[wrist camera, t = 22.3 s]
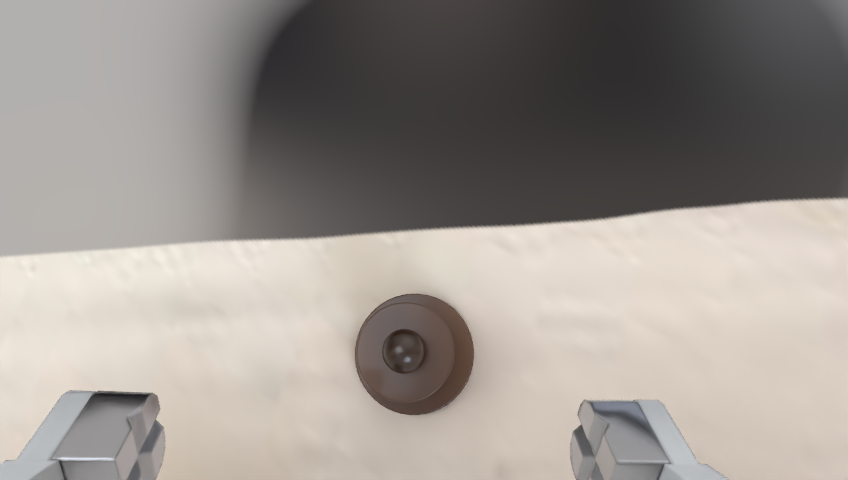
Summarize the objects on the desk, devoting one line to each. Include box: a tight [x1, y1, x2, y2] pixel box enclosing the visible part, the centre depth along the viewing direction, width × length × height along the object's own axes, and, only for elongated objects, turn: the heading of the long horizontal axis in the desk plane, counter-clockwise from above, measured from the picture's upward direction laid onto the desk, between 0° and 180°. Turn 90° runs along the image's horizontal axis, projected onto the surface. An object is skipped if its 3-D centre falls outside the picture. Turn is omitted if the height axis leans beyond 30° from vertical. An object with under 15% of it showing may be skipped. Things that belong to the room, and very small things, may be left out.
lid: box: [355, 294, 474, 415], centre depth 30 cm, size 7×7×9 cm
